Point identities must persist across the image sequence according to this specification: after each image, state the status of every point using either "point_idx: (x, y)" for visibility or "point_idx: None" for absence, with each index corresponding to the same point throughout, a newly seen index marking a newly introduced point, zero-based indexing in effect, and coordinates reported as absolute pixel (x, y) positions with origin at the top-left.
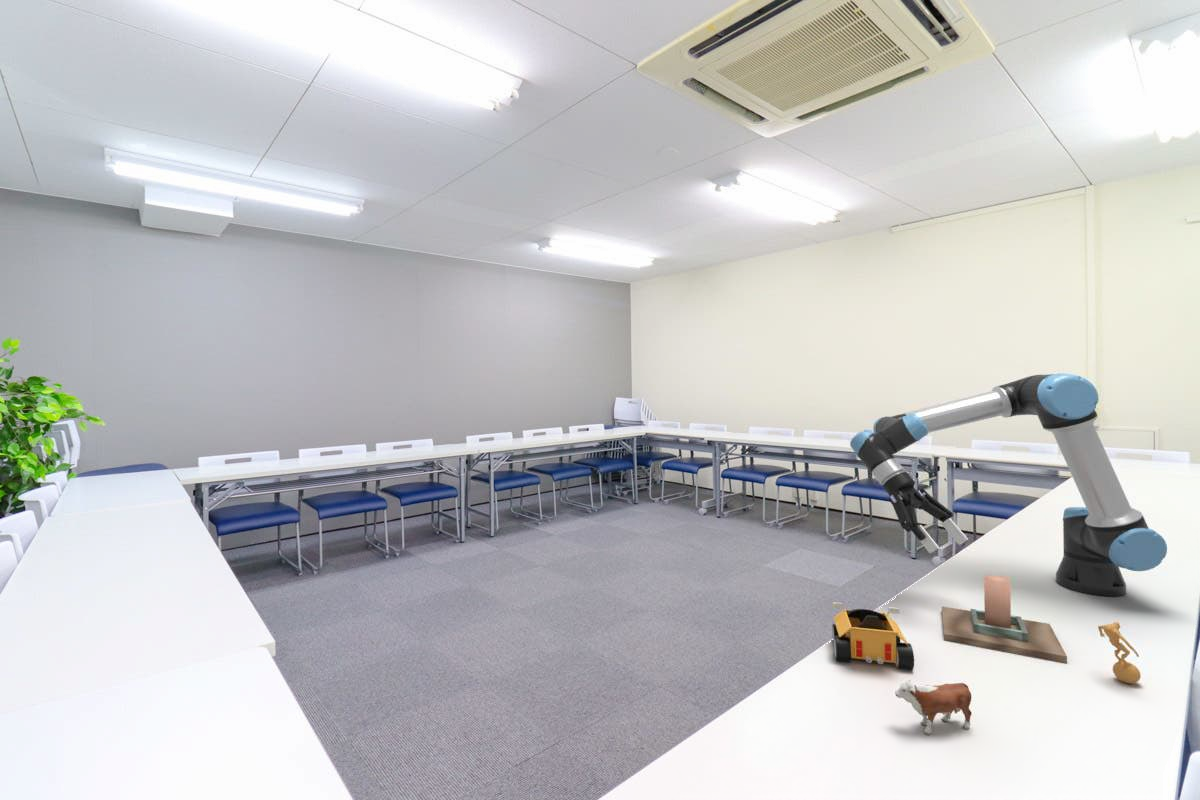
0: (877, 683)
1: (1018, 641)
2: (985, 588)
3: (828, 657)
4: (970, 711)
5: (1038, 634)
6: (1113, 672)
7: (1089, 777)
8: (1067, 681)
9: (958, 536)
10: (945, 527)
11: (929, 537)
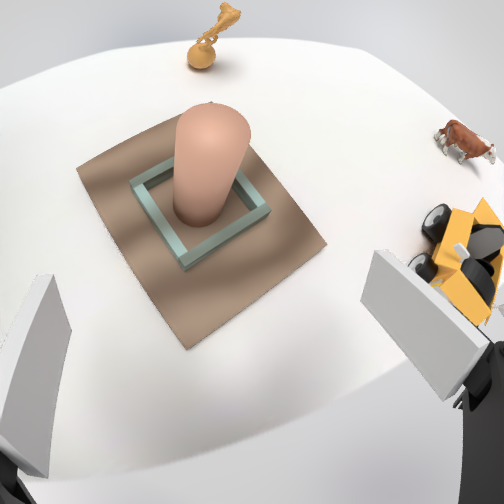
0: None
1: None
2: (236, 169)
3: None
4: (441, 129)
5: (153, 152)
6: (208, 65)
7: (394, 75)
8: (268, 96)
9: (50, 331)
10: (46, 437)
11: (427, 285)
